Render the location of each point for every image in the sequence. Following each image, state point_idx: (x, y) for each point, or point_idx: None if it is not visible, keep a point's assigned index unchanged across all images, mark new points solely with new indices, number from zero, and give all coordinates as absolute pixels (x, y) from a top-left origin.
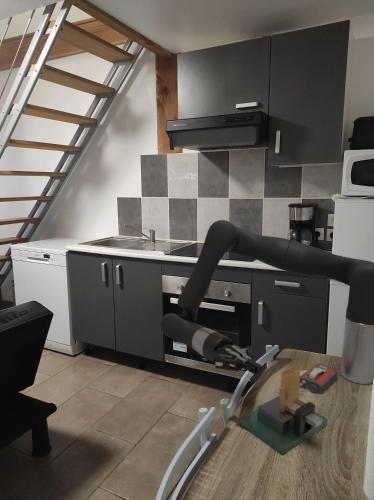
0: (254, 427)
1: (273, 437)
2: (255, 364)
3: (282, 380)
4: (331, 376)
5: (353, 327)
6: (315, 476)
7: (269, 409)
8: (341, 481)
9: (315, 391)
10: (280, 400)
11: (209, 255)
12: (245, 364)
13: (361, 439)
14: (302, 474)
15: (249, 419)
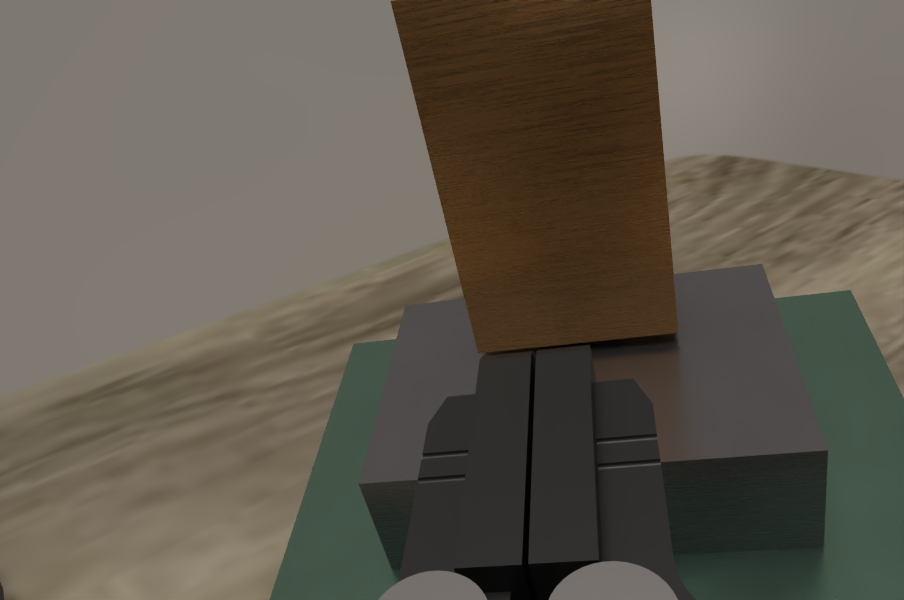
0: None
1: (844, 358)
2: (547, 398)
3: (652, 34)
4: None
5: None
6: (782, 218)
7: (739, 386)
8: (695, 186)
9: (1, 589)
10: (670, 244)
11: None
12: (673, 566)
13: (362, 271)
14: (838, 237)
15: None
